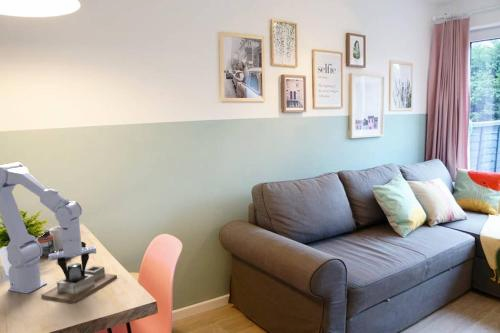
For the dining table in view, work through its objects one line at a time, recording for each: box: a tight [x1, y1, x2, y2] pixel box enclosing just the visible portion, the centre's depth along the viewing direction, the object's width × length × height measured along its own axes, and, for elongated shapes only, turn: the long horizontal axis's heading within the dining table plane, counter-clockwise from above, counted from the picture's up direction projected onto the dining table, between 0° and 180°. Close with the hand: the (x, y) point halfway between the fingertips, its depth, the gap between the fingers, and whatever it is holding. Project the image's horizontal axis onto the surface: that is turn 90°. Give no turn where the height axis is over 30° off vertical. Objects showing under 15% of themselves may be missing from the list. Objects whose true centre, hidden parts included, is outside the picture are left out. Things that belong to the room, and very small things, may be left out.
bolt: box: [59, 241, 87, 262], centre depth 163 cm, size 6×5×15 cm
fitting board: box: [41, 265, 118, 304], centre depth 131 cm, size 14×20×4 cm
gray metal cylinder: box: [67, 262, 83, 283], centre depth 128 cm, size 4×4×6 cm
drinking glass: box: [49, 225, 63, 251], centre depth 169 cm, size 7×7×10 cm
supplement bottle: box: [36, 229, 56, 259], centre depth 161 cm, size 6×6×11 cm
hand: (75, 276), depth 128 cm, fingers closed on gray metal cylinder, 4 cm apart
